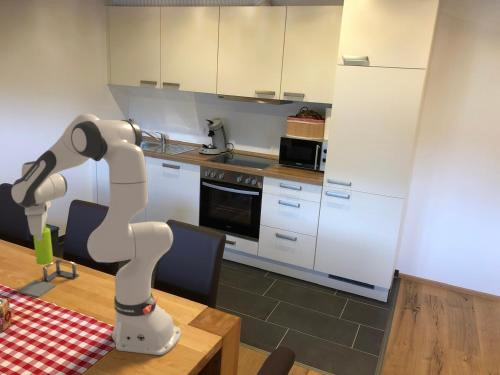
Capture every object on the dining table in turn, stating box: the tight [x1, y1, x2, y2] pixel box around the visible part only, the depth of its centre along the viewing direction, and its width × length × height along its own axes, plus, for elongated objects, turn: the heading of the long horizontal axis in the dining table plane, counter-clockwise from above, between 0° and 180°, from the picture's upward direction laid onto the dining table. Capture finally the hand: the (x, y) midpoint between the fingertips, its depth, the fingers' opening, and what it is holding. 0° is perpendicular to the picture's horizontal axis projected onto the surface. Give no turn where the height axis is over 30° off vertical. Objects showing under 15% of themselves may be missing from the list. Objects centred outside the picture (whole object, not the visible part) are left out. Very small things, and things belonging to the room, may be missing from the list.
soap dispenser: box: [33, 214, 54, 266], centre depth 160 cm, size 6×7×20 cm
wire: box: [41, 259, 80, 283], centre depth 169 cm, size 10×9×6 cm
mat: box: [16, 279, 57, 299], centre depth 161 cm, size 10×9×1 cm
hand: (41, 236), depth 161 cm, fingers closed on soap dispenser, 6 cm apart
